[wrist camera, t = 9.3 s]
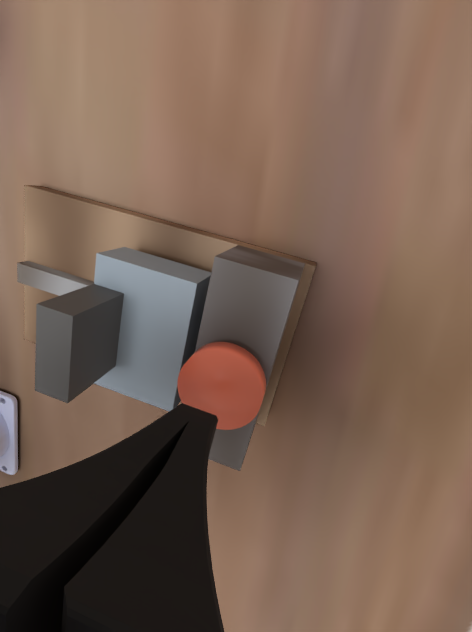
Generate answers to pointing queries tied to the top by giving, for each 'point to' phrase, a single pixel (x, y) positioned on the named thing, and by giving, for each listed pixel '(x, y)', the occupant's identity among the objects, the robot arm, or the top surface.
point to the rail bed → (179, 246)
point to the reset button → (223, 384)
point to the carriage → (122, 329)
